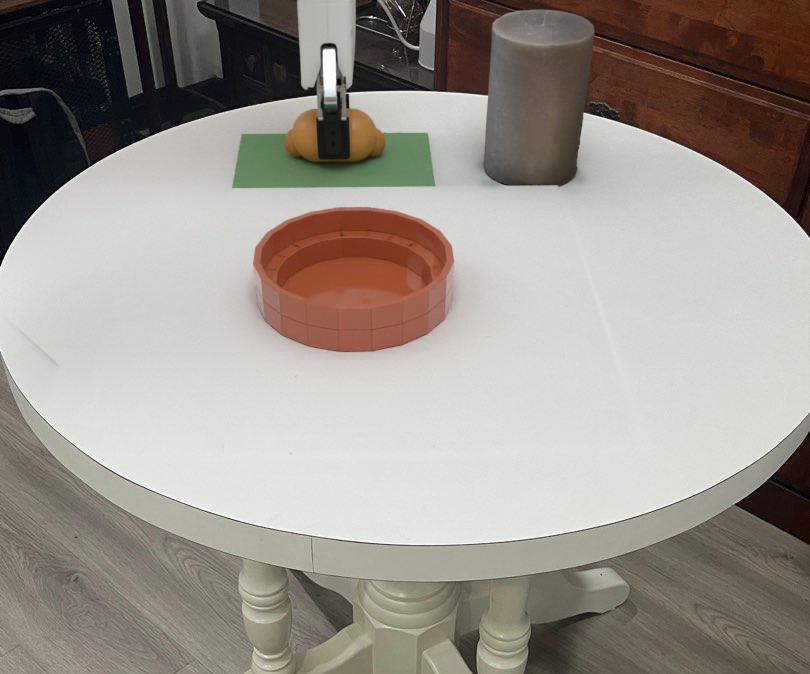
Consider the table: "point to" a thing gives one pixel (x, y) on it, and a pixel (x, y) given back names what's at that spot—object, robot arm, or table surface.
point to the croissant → (362, 137)
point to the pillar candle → (537, 96)
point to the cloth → (333, 165)
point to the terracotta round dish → (354, 278)
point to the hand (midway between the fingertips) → (334, 143)
